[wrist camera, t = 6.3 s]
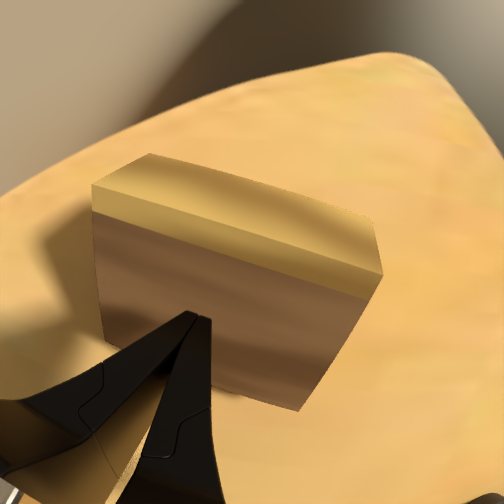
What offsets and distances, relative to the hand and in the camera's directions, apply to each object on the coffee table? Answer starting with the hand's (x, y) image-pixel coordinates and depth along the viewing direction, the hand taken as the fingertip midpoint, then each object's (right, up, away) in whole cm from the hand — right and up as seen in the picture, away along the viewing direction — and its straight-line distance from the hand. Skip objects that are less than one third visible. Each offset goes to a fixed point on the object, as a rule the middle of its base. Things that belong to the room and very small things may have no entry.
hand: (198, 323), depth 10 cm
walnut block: (0, -2, +6) cm, 6 cm away
